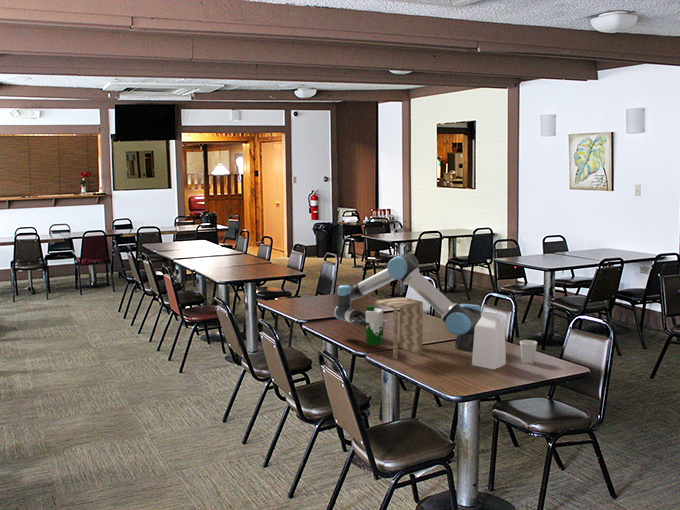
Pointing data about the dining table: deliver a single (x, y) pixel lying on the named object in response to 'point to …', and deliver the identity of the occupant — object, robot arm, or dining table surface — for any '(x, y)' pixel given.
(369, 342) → the soya milk
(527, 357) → the dixie cup
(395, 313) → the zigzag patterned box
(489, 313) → the milk
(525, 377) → the dining table surface
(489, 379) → the dining table surface
